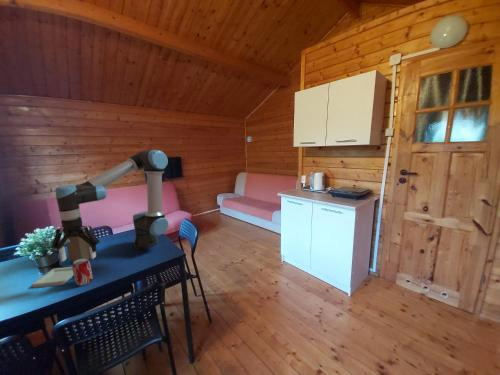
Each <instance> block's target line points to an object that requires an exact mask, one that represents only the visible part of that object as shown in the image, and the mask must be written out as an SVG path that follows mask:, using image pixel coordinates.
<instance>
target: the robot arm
mask: <svg viewBox="0 0 500 375" xmlns="http://www.w3.org/2000/svg"><path fill="white" fill-rule="evenodd" d="M168 162H169V160H168V157H167V155H166V154H165V153H164V152H163V151H162V150H157V149H152V150H151V149H150V150H142V151H139V152H137V153H135V154H134V155H131V156H129V157H127V158H126V161H123V162H121V163H119V164H118V165H115V166H114V167H112V168H109V169H108V170H106V171H104V172H102V173H100V174H98V175H96V176H94V177H92V178H90V179H88V180H86V181H84V182H83V183H80V184H79V183H78V184H75V185H74V184H73V185H72V184H71V185H62V186H61V185H60V186H58V187H56V188H55V199H56V202H57V208H58V212H59V218H60V223H61V227H59V228H57V229H55V235H54V238H53V241H52V244H51V248H52V249H56V251H57V255H58V256H59V258H60V262H61V263H62V262H65V261H66V260H67V254H66V249H65V246H64V244H66V240H67V239H68V238H69V237H77V236H78V237H79V238H82V239H83V240H84V241H85V242H87V243H88V244H89V245H91V246H90V247H89V249H90V254H91V258H90V259H91V260H93V259H94V258H96V257H97V255H96V253H97V245H98V244H100V243H101V241H100V239H99V238H98V237H97V236H96V234H95V233H94V232H93V230H92V231H91V228H90V226H91V225H86V226H87V227H83V226H84V225H83V220H82V217H81V216H82V215H81V210H80V205H81V204H87V203H92V202H97V201H98V202H99V201H102V200H105V199H107V198H106V197H107V190H106V187H109V186H110V185H111V184H114V183H115V182H117V181H119V180H122V178H125V177H126V176H127V175H129V174H132V173H133V172H136V173H137V172H138V171H140V170H144V171H143V172H144V173H145V174H146V186H147V187H146V190H147V191H146V194H147V210H146V211H141V212H138V213H135V214H133V215H132V223H133V228H134V233H135V237H134V241H133V245H134V246H133V247H134V248H135V249H137V250H145V249H150V248H152V246H153V247H155V246H156V245H158V244H159V240H158V239H159V238H158V236H161V235H163V234H164V233H166V231H167V230H168V229H169V221H168V219H167V218H165V217H166V215H165V214H166V213H165V212H164V211H163V179H162V178H163V177H162V176H163V175H164V173H165V168H166V167H167V166H168ZM83 230H84V231H85V232H86V233H85V232H83ZM64 233H65V235H64ZM86 234H87V235H88V236H87V235H86ZM62 235H63V237H62ZM154 245H155V246H154ZM95 251H96V253H95Z"/></svg>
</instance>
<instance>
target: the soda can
mask: <svg viewBox="0 0 500 375" xmlns="http://www.w3.org/2000/svg"><path fill="white" fill-rule="evenodd" d="M71 267H72V269H73V274H74V276H73V277H74V282H75V284H76V285H77V286H79V287H80V286H86V285H87V284H90V282H92V281H93V280H94V279H93V277H94V276H93V272H92V266H91V262H90V260H88V259H87V258H82V259H78V260H76V261H74V262H72V266H71Z"/></svg>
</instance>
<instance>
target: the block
mask: <svg viewBox="0 0 500 375" xmlns="http://www.w3.org/2000/svg"><path fill="white" fill-rule="evenodd" d="M82 226H83V227H87V226H88V225H82ZM89 226H90V228H91V231H92V232H93V228H92V226H91V225H89ZM83 232H85V231H84V230H83ZM85 233H86V232H85ZM64 235H65V233H64V232H63V236H64ZM86 235H87V234H86ZM87 236H88V235H87ZM68 239H69V240H70V243H69V244H68V245H66V249H67V254H68V258H69V262H71V263H73V262H74V261H76V260H78V259H82V258H87V259H88V261H90V259H91V254H90V249H89V247H90V246H91V245H89V244H88V243H87V242H85V241H84V240H83V239H82V238H79V237H78V236H77V237H69V238H68ZM95 253H96V256H97V255H98V254H97V250H96V251H95Z"/></svg>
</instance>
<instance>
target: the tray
mask: <svg viewBox="0 0 500 375" xmlns="http://www.w3.org/2000/svg"><path fill="white" fill-rule="evenodd" d="M73 277H74V274H73V269H72V266H67V267H66V266H65V267H57V268H56V267H55V268H52V269H51V270H49V271H48V272H46V273H45V274H44V275H42V276H41V277H40V278H39V279H37V280H36V281H35V282H33V283H31V286H32V287H31V288H32V289H36V288H44V287H55V286H63V285H65V284H66V283H68V281H70V280H71V279H72V278H73Z"/></svg>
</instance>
